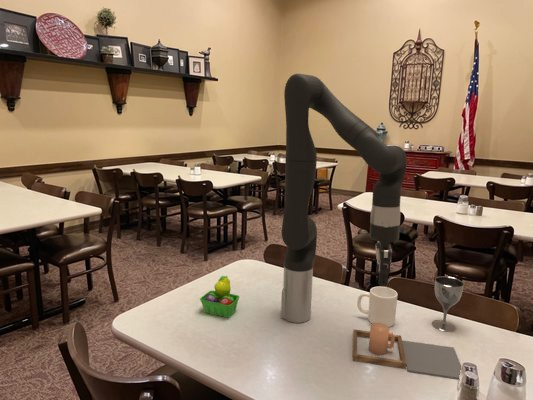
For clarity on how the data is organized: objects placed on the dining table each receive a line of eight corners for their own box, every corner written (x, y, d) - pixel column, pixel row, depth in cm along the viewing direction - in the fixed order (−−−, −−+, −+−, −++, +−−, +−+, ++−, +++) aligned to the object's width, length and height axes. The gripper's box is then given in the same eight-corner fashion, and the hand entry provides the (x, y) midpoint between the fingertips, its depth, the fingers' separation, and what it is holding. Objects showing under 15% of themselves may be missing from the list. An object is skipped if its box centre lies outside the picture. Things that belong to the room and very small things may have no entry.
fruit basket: (198, 313, 127) (198, 281, 125) (212, 302, 135) (212, 271, 133) (229, 320, 123) (229, 287, 121) (242, 308, 131) (242, 277, 129)
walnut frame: (352, 360, 104) (353, 355, 104) (353, 333, 117) (353, 329, 117) (406, 368, 101) (406, 363, 101) (400, 340, 114) (401, 335, 114)
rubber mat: (407, 371, 100) (407, 369, 100) (401, 341, 113) (401, 340, 113) (466, 380, 97) (466, 378, 97) (453, 348, 110) (453, 347, 110)
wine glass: (456, 322, 125) (461, 278, 122) (459, 334, 118) (465, 288, 114) (429, 317, 127) (434, 274, 124) (430, 329, 120) (436, 284, 117)
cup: (394, 330, 119) (397, 299, 117) (354, 322, 123) (356, 293, 121) (395, 317, 127) (397, 288, 125) (357, 310, 131) (359, 282, 129)
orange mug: (368, 353, 107) (370, 330, 106) (368, 343, 112) (370, 321, 110) (393, 357, 106) (396, 334, 104) (392, 347, 110) (394, 324, 109)
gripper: (369, 214, 110) (366, 268, 114) (371, 228, 97) (368, 288, 100) (396, 216, 109) (393, 270, 112) (403, 229, 95) (399, 291, 98)
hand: (381, 279), depth 106 cm, fingers open, 8 cm apart
